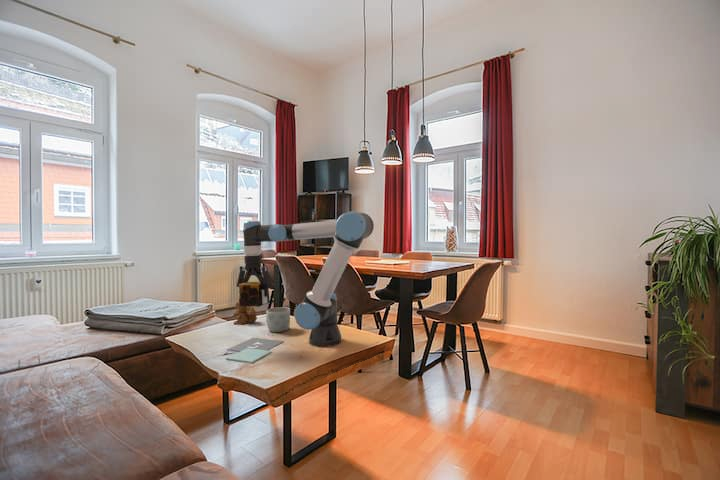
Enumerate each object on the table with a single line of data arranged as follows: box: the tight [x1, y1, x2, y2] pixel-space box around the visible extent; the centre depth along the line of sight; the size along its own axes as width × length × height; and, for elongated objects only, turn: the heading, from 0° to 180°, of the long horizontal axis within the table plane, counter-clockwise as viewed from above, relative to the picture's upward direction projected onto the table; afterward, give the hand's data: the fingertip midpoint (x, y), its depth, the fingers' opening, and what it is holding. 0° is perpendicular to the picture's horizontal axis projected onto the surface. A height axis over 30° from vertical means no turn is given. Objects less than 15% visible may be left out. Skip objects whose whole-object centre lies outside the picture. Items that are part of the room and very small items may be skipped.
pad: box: [226, 348, 272, 364], centre depth 150 cm, size 13×13×1 cm
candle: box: [238, 280, 270, 308], centre depth 163 cm, size 10×10×10 cm
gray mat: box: [226, 337, 285, 353], centre depth 164 cm, size 18×18×1 cm
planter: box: [265, 306, 291, 333], centre depth 189 cm, size 12×12×11 cm
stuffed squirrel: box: [232, 300, 258, 325], centre depth 206 cm, size 10×14×13 cm
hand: (254, 303), depth 163 cm, fingers closed on candle, 11 cm apart
